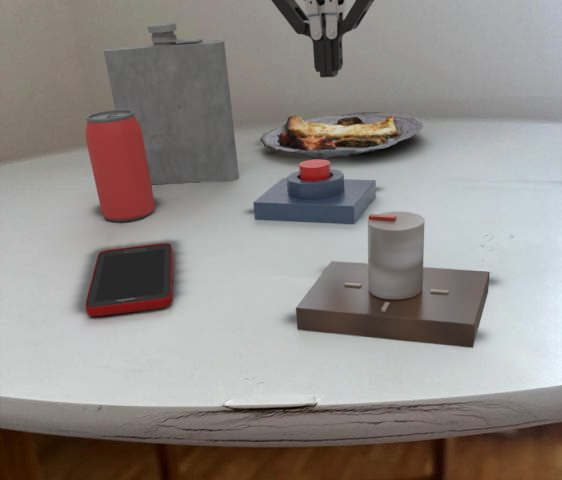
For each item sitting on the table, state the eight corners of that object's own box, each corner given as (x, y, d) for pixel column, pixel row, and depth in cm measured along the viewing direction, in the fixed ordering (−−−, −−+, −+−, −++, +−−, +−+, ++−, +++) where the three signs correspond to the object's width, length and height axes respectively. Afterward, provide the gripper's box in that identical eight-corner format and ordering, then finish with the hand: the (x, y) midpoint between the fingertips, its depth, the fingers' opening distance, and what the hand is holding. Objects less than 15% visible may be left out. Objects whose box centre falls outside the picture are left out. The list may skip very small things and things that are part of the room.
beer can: (138, 224, 83) (118, 120, 77) (92, 222, 85) (69, 120, 79) (165, 207, 88) (148, 108, 82) (121, 205, 90) (102, 108, 84)
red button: (334, 174, 82) (333, 159, 81) (325, 183, 79) (324, 167, 78) (305, 173, 83) (304, 159, 82) (295, 182, 80) (294, 167, 79)
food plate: (242, 164, 104) (239, 140, 102) (286, 129, 122) (285, 108, 120) (410, 164, 96) (411, 138, 95) (430, 126, 115) (431, 104, 113)
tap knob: (428, 280, 58) (430, 209, 55) (414, 302, 55) (416, 228, 51) (377, 275, 60) (377, 206, 56) (361, 296, 56) (360, 224, 53)
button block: (376, 197, 85) (375, 164, 83) (354, 225, 77) (353, 189, 75) (284, 194, 89) (281, 163, 87) (254, 220, 81) (251, 186, 79)
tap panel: (488, 292, 60) (490, 269, 59) (473, 348, 52) (475, 322, 51) (332, 280, 64) (331, 259, 63) (296, 330, 57) (295, 306, 55)
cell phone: (173, 250, 74) (171, 241, 74) (173, 308, 62) (171, 298, 61) (100, 259, 74) (98, 250, 73) (85, 319, 61) (83, 309, 61)
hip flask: (126, 186, 98) (95, 29, 88) (135, 178, 101) (106, 26, 91) (236, 182, 96) (219, 20, 85) (241, 173, 99) (225, 17, 89)
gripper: (241, -108, 67) (261, 84, 76) (376, -128, 62) (380, 80, 71) (270, -106, 72) (285, 72, 81) (395, -124, 68) (396, 68, 77)
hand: (329, 76), depth 76 cm, fingers closed
